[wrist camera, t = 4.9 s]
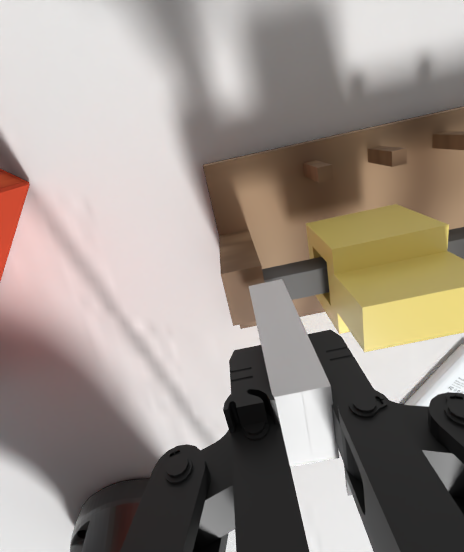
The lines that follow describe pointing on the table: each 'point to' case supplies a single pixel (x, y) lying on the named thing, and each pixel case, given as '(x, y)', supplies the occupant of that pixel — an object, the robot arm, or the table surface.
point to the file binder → (10, 211)
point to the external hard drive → (442, 380)
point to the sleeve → (389, 276)
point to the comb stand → (329, 200)
